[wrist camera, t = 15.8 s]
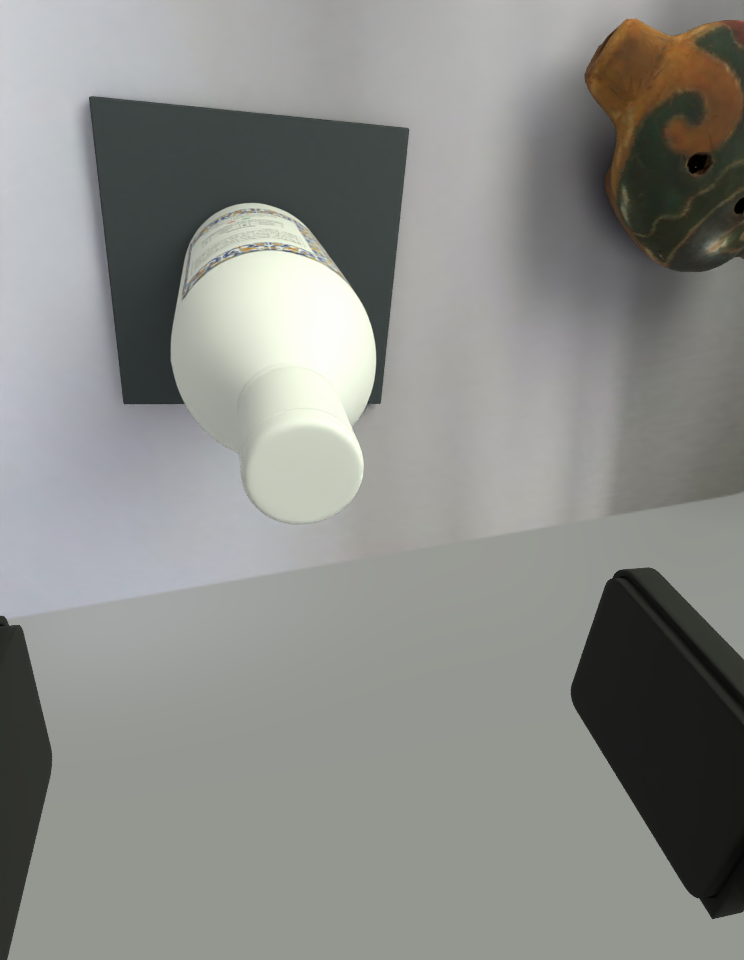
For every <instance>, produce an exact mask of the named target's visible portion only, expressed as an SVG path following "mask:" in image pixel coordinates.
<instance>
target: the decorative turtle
mask: <svg viewBox="0 0 744 960" xmlns="http://www.w3.org/2000/svg"><path fill="white" fill-rule="evenodd" d="M585 82H586V85H587V87H588V89H589V91H590V93H591V94H592V96H593V97H594V99H595V100H596V102H597V103H598V104H599V105H600V106H601V108H602V109H603V110H604V111H605V112H606V114H607V115H608V116H609V117H610V119H611V120H612V122H613V124H614V126H615V128H616V133H617V140H616V145H615V150H614V155H613V160H612V166H611V168H610V169H609V170H608V172H607V174H606V177H605V179H604V181H605V191H606V194H607V196H608V198H609V202H610V204H611V206H612V209H613V210H614V212H615V214H616V216H617V218H618V219H619V221H620V223H621V224H622V226H623V228H624V229H625V231H626V232H627V234H628V235H629V236H630V237H631V239H632V240H633V241H634V243H635V244H636V245H637V246H638V247H639V248H640V249H641V250H642V251H643V252H644V253H645V254H646V255H647V256H648V257H650V258H651V259H652V260H654V261H655V262H656V263H658V264H660V265H662V266H664V267H666V268H669V269H672V270H675V271H680V272H702V271H707V270H710V269H713V268H716V267H718V266H720V265H722V264H724V263H726V262H727V261H729V260H730V259H732V258H734V257H741V258H743V259H744V21H736V20H724V21H719V22H713V23H708V24H704V25H701V26H698V27H696V28H693V29H691V30H689V31H687V32H685V33H683V34H681V35H676V36H668V35H666V34H664V33H662V32H660V31H658V30H655V29H653V28H651V27H649V26H648V25H646V24H644V23H643V22H641V21H639V20H637V19H626V20H625V21H624V22H623V23H622V24H621V25H620V26H619V27H617V28H616V29H615V30H614V31H613V32H612V33H611V34H610V35H609V36H608V37H607V38H606V39H605V41H604V42H603V43H602V44H601V45H600V46H599V47H598V49H597V51H596V52H595V54H594V56H593V58H592V60H591V62H590V63H589V65H588V67H587V69H586V72H585ZM696 162H697V163H696ZM692 165H694V166H697V165H698V166H697V169H696V168H695V167H694V166H692Z"/></svg>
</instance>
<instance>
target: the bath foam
mask: <svg viewBox="0 0 744 960" xmlns="http://www.w3.org/2000/svg"><path fill="white" fill-rule="evenodd" d="M170 361H171V365H172V368H173V373H174V377H175V381H176V384H177V387H178V390H179V392H180V394H181V397H182V399H183V401H184V403H185V405H186V407H187V408H188V410H189V411H190V413H191V414H192V416H193V417H194V419H195V420H196V421H197V423H198V424H199V425H200V426H201V427H202V428H203V429H204V430H205V431H206V432H207V433H208V434H209V435H210V436H211V437H212V438H214V439H215V440H216V441H218V442H219V443H220V444H222V445H223V446H225V447H227V448H228V449H230V450H232V451H234V452H236V453H239V455H240V468H241V478H242V483H243V486H244V489H245V492H246V494H247V496H248V498H249V499H250V501H251V502H252V503H253V504H254V505H255V507H256V508H257V509H258V510H260V511H261V512H262V513H263V514H265V515H266V516H268V517H270V518H272V519H274V520H277V521H280V522H283V523H288V524H311V523H315V522H319V521H322V520H325V519H327V518H330V517H332V516H333V515H335V514H337V513H338V512H340V511H341V510H342V509H344V508H345V507H346V506H347V505H348V504H349V503H350V502H351V500H352V499H353V498H354V496H355V495H356V493H357V491H358V489H359V487H360V485H361V481H362V477H363V471H364V463H363V456H362V452H361V449H360V446H359V443H358V441H357V439H356V436H355V434H354V431H353V429H352V427H353V426H354V424H355V423H356V422H357V420H358V419H359V417H360V416H361V414H362V413H363V411H364V409H365V407H366V405H367V402H368V400H369V397H370V394H371V391H372V388H373V384H374V379H375V371H376V348H375V340H374V335H373V331H372V327H371V324H370V320H369V317H368V314H367V312H366V309H365V307H364V305H363V303H362V301H361V300H360V298H359V296H358V295H357V293H356V292H355V291H354V289H353V288H352V286H351V285H350V284H349V282H348V281H347V280H346V278H345V277H344V276H343V274H342V273H341V271H340V270H339V269H338V267H337V266H336V265H335V263H334V262H333V261H332V259H331V258H330V257H329V255H328V254H327V252H326V251H325V250H324V248H323V247H322V246H321V244H320V243H319V242H318V240H317V239H316V238H315V236H314V235H313V234H312V233H311V232H310V230H309V229H308V228H307V227H306V226H305V225H304V224H303V223H302V222H301V221H300V220H298V219H297V218H296V217H294V216H293V215H291V214H289V213H288V212H286V211H283V210H281V209H278V208H276V207H273V206H269V205H265V204H260V203H244V204H238V205H234V206H230V207H227V208H225V209H223V210H221V211H219V212H217V213H215V214H214V215H212V216H211V217H210V218H209V219H207V220H206V221H205V222H204V223H203V224H202V225H201V226H200V228H199V229H198V230H197V231H196V233H195V234H194V236H193V238H192V240H191V242H190V244H189V246H188V249H187V252H186V256H185V260H184V265H183V271H182V277H181V282H180V288H179V294H178V299H177V305H176V310H175V316H174V322H173V328H172V335H171V358H170Z"/></svg>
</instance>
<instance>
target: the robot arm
mask: <svg viewBox="0 0 744 960" xmlns="http://www.w3.org/2000/svg"><path fill="white" fill-rule="evenodd" d="M571 698H572V702H573V705H574V707H575V709H576V710H577V712H578V714H579V715H580V717H581V719H582V720H583V722H584V724H585V725H586V727H587V728H588V730H589V732H590V733H591V735H592V737H593V738H594V740H595V741H596V743H597V745H598V746H599V748H600V750H601V751H602V753H603V755H604V756H605V758H606V759H607V761H608V763H609V764H610V766H611V768H612V769H613V771H614V772H615V774H616V776H617V777H618V779H619V781H620V782H621V784H622V785H623V787H624V789H625V790H626V792H627V793H628V795H629V797H630V799H631V800H632V802H633V803H634V805H635V807H636V808H637V810H638V811H639V813H640V815H641V817H642V818H643V820H644V821H645V823H646V825H647V826H648V828H649V830H650V831H651V833H652V834H653V836H654V838H655V839H656V841H657V842H658V844H659V846H660V847H661V849H662V851H663V852H664V854H665V856H666V857H667V859H668V861H669V862H670V864H671V865H672V867H673V869H674V870H675V872H676V873H677V875H678V877H679V878H680V880H681V881H682V883H683V885H684V886H685V888H686V889H687V890H688V892H689V893H690V894H691V895H693V896H694V897H696V898H700V900H701V902H702V903H703V905H704V906H705V908H706V910H707V911H708V913H709V914H710V916H711V918H712V919H715V918H719V917H724V916H728V915H733V914H737V913H741V912H743V911H744V660H743V658H742V657H741V656H740V655H739V654H738V653H737V652H736V651H735V650H734V649H733V648H732V647H731V646H730V645H729V644H728V643H727V642H726V641H725V640H724V639H723V638H722V637H721V636H720V635H719V634H718V633H717V632H716V631H715V630H714V629H713V628H712V627H711V626H710V625H709V624H708V623H707V622H706V620H705V619H704V618H703V617H702V616H701V615H700V614H699V613H698V612H697V611H696V610H695V609H694V608H693V607H692V606H691V605H690V604H689V603H688V602H687V601H686V600H685V599H684V598H683V597H682V596H681V595H680V594H679V593H678V592H677V591H676V590H675V589H674V588H673V587H672V586H671V585H670V583H669V582H668V581H667V580H666V579H665V578H664V577H663V576H662V575H661V574H660V573H659V572H658V571H656V570H655V569H653V568H637V569H623V570H619V571H617V572H616V573H615V574H614V576H613V578H612V579H610V580H608V581H607V583H606V585H605V588H604V591H603V594H602V597H601V600H600V603H599V605H598V609H597V612H596V614H595V617H594V621H593V624H592V626H591V629H590V632H589V635H588V638H587V641H586V645H585V647H584V650H583V653H582V656H581V659H580V662H579V665H578V668H577V671H576V674H575V677H574V680H573V683H572V686H571ZM51 767H52V751H51V746H50V742H49V738H48V733H47V729H46V725H45V721H44V716H43V712H42V709H41V704H40V700H39V696H38V691H37V687H36V683H35V679H34V675H33V670H32V666H31V662H30V658H29V654H28V650H27V645H26V642H25V637H24V633H23V630H22V628H21V626H20V625H12V626H9V624H8V622H7V619H6V618H5V617H4V616H0V960H7V958H8V954H9V949H10V945H11V941H12V937H13V932H14V928H15V924H16V919H17V915H18V911H19V907H20V903H21V899H22V894H23V890H24V886H25V882H26V877H27V873H28V868H29V865H30V860H31V856H32V852H33V848H34V843H35V839H36V835H37V830H38V826H39V822H40V818H41V813H42V809H43V805H44V801H45V797H46V792H47V788H48V784H49V779H50V775H51Z"/></svg>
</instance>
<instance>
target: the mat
mask: <svg viewBox="0 0 744 960" xmlns="http://www.w3.org/2000/svg"><path fill="white" fill-rule="evenodd" d="M89 101H90V110H91V119H92V128H93V137H94V145H95V154H96V163H97V172H98V181H99V190H100V198H101V207H102V216H103V225H104V234H105V243H106V251H107V260H108V269H109V278H110V287H111V296H112V305H113V313H114V322H115V331H116V340H117V349H118V358H119V366H120V375H121V384H122V393H123V402H124V404H185V403H184V401H183V399H182V397H181V394H180V392H179V390H178V387H177V384H176V381H175V377H174V373H173V368H172V365H171V361H170V358H171V335H172V328H173V322H174V316H175V310H176V305H177V299H178V294H179V288H180V282H181V277H182V271H183V265H184V260H185V256H186V252H187V249H188V246H189V244H190V242H191V240H192V238H193V236H194V234H195V233H196V231H197V230H198V229H199V228H200V226H201V225H202V224H203V223H204V222H205V221H206V220H207V219H209V218H210V217H211V216H212V215H214V214H215V213H217V212H219V211H221V210H223V209H225V208H227V207H230V206H234V205H238V204H244V203H260V204H265V205H269V206H273V207H276V208H278V209H281V210H283V211H286V212H288V213H289V214H291V215H293V216H294V217H296V218H297V219H298V220H300V221H301V222H302V223H303V224H304V225H305V226H306V227H307V228H308V229H309V230H310V232H311V233H312V234H313V235H314V236H315V238H316V239H317V240H318V242H319V243H320V244H321V246H322V247H323V248H324V250H325V251H326V252H327V254H328V255H329V257H330V258H331V259H332V261H333V262H334V263H335V265H336V266H337V267H338V269H339V270H340V271H341V273H342V274H343V276H344V277H345V278H346V280H347V281H348V282H349V284H350V285H351V286H352V288H353V289H354V291H355V292H356V293H357V295H358V296H359V298H360V300H361V301H362V303H363V305H364V307H365V309H366V312H367V314H368V317H369V320H370V324H371V327H372V331H373V335H374V340H375V348H376V371H375V379H374V384H373V388H372V391H371V394H370V397H369V400H368V402H367V404H380V403H381V394H382V384H383V375H384V365H385V356H386V346H387V337H388V327H389V317H390V308H391V298H392V289H393V279H394V269H395V260H396V250H397V241H398V231H399V222H400V212H401V202H402V193H403V183H404V174H405V164H406V155H407V145H408V135H409V129H408V128H401V127H391V126H381V125H371V124H362V123H352V122H342V121H332V120H322V119H312V118H302V117H292V116H282V115H272V114H262V113H252V112H242V111H232V110H222V109H213V108H203V107H193V106H183V105H173V104H163V103H153V102H143V101H133V100H123V99H113V98H103V97H93V96H91V97H89Z"/></svg>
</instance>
